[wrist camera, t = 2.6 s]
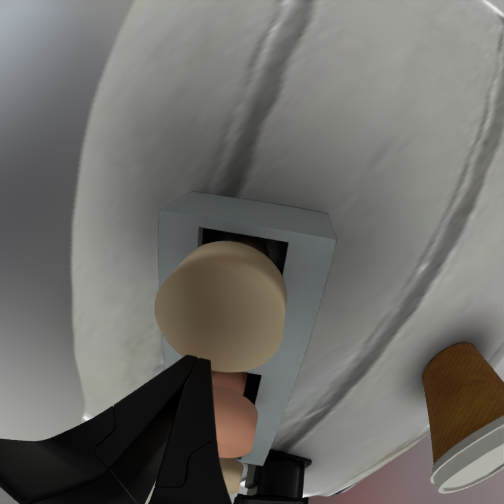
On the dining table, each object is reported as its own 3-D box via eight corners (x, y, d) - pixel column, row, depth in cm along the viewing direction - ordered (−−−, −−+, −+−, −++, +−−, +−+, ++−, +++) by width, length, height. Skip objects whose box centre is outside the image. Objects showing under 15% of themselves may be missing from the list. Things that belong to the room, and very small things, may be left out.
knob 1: (297, 219, 16) (296, 279, 10) (282, 297, 19) (271, 382, 12) (209, 205, 17) (152, 253, 10) (204, 282, 19) (158, 356, 12)
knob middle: (272, 343, 20) (258, 427, 13) (262, 388, 22) (247, 463, 15) (202, 329, 21) (165, 405, 14) (201, 375, 23) (172, 445, 16)
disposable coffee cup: (407, 409, 24) (426, 504, 13) (404, 350, 21) (441, 470, 10) (482, 379, 21) (518, 461, 10) (493, 313, 19) (556, 406, 8)
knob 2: (255, 414, 24) (241, 481, 17) (249, 439, 26) (236, 497, 19) (200, 402, 24) (176, 465, 17) (200, 428, 26) (181, 484, 20)
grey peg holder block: (327, 213, 18) (336, 240, 13) (268, 428, 28) (262, 465, 23) (191, 191, 19) (158, 210, 14) (189, 411, 28) (175, 446, 24)
